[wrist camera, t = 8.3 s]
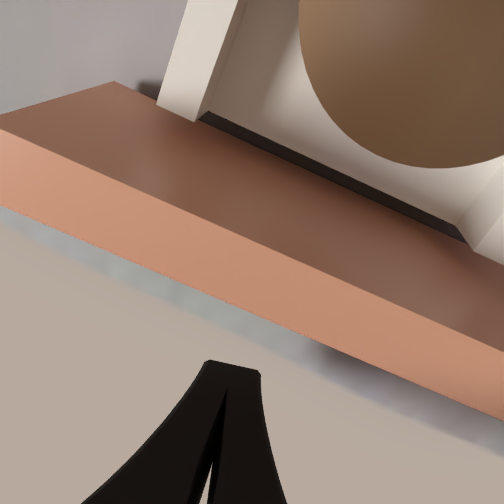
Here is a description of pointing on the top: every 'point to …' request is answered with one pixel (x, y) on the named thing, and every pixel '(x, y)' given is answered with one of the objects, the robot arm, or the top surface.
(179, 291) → the top surface
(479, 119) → the walnut puck
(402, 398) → the top surface
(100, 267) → the top surface
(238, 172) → the drawer
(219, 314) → the top surface
